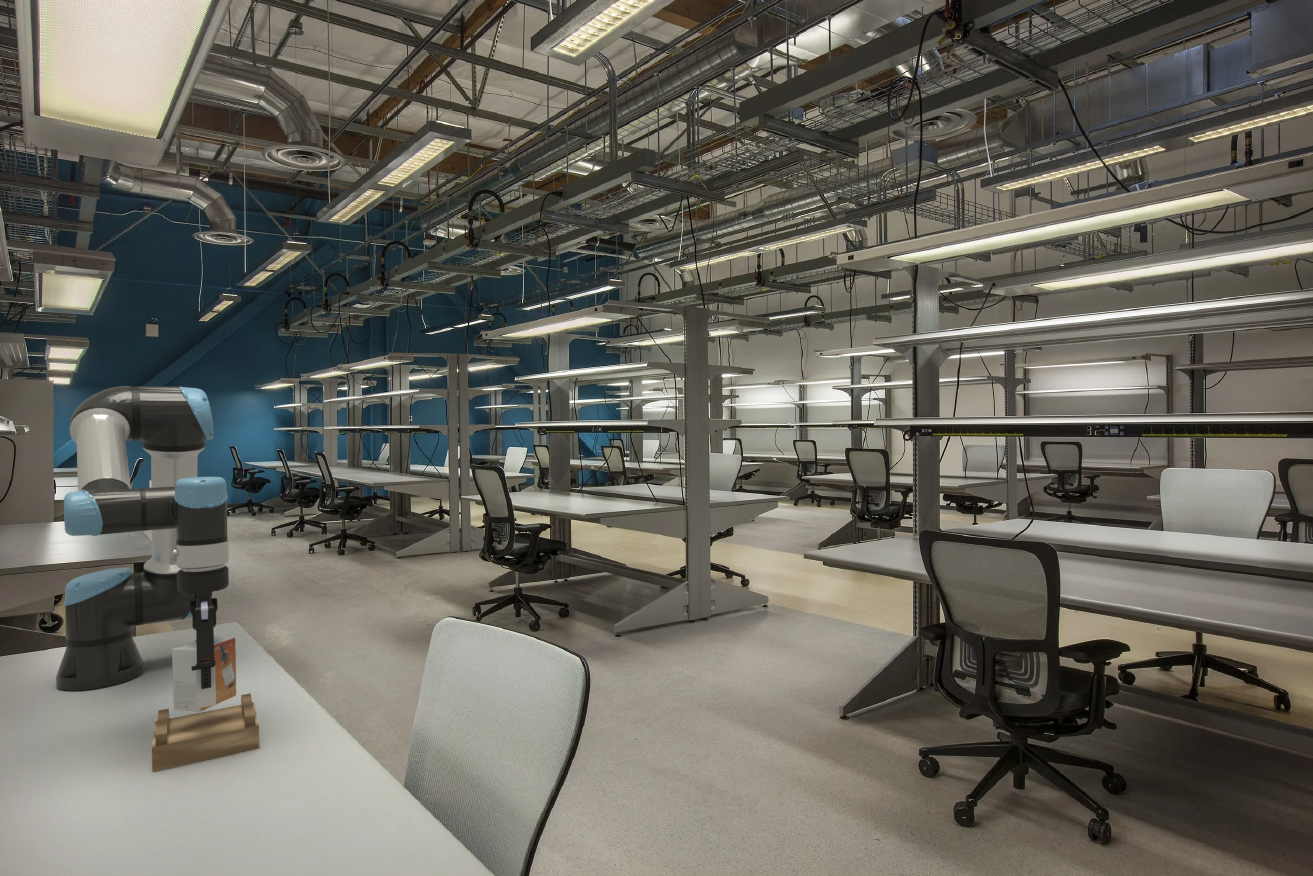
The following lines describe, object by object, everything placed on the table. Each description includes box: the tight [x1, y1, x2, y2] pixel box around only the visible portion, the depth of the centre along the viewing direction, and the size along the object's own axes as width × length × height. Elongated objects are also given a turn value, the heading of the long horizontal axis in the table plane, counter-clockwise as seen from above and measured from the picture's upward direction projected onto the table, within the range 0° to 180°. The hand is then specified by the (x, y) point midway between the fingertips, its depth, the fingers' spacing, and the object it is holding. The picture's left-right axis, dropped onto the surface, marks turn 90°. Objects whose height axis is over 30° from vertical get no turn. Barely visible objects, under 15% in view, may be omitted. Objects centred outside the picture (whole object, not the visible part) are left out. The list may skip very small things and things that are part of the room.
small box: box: [171, 635, 237, 713], centre depth 123 cm, size 8×6×10 cm
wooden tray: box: [151, 693, 260, 773], centre depth 124 cm, size 12×15×6 cm
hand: (206, 696), depth 124 cm, fingers closed on small box, 9 cm apart
